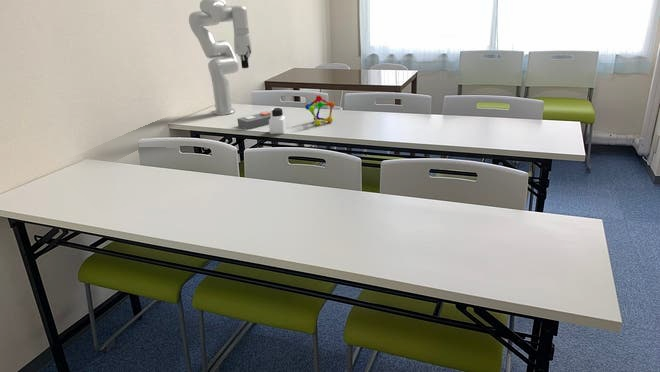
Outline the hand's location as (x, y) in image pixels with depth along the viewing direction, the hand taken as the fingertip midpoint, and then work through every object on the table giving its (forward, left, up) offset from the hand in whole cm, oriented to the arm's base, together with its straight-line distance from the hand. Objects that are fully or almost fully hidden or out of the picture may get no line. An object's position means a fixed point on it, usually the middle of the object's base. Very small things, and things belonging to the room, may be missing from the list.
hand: (245, 67), depth 258 cm
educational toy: (+31, +23, -29) cm, 49 cm away
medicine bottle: (+29, -2, -29) cm, 41 cm away
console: (+8, 0, -29) cm, 30 cm away
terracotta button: (+8, +5, -28) cm, 30 cm away
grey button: (+8, -5, -29) cm, 30 cm away
